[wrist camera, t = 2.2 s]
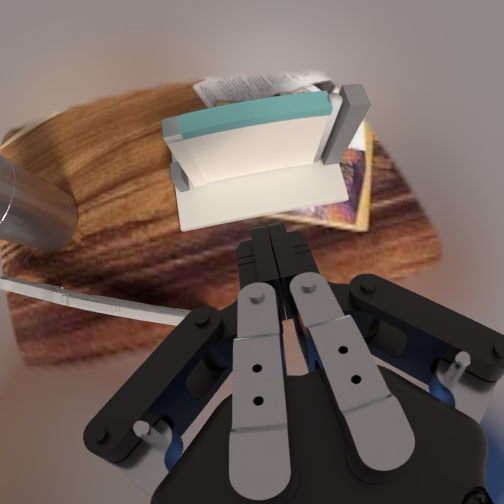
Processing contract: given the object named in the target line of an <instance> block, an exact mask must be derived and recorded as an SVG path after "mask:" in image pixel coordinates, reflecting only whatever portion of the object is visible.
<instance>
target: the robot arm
mask: <svg viewBox="0 0 504 504" xmlns="http://www.w3.org/2000/svg"><path fill="white" fill-rule="evenodd" d="M77 220H78V211H77V205H76V202H75V200H74V199H73V197H72V196H71V195H70V194H68V193H67V192H65V191H63V190H61V189H59V188H58V187H56V186H54V185H53V184H51V183H49V182H47V181H45V180H44V179H42V178H40V177H38V176H36V175H35V174H33V173H31V172H29V171H27V170H26V169H24V168H22V167H20V166H19V165H17V164H15V163H13V162H12V161H10V160H8V159H6V158H5V157H3V156H1V155H0V239H1V240H5V241H9V242H13V243H17V244H21V245H25V246H29V247H33V248H37V249H41V250H46V251H56V250H59V249H61V248H62V247H64V246H65V245H66V244H67V243H68V241H69V240H70V239H71V237H72V235H73V234H74V231H75V228H76V225H77ZM267 227H268V231H267ZM267 227H266V226H262V227H257V228H252V229H250V231H251V237H252V240H249V241H244V242H240V244H239V246H238V248H237V258H238V268H239V278H240V288H241V291H240V293H239V295H238V299H237V300H236V301H235V302H234V303H233V304H232V305H230V306H228V307H226V308H224V309H222V310H220V311H218V310H217V309H216V308H214V307H211V306H201V307H198V308H195V309H194V310H192V311H191V312H189V313H188V314H187V316H186V317H185V318H184V319H183V320H182V321H181V322H180V323H179V324H178V325H177V326H176V328H175V329H174V330H173V331H172V332H171V333H170V334H169V335H168V336H167V337H166V339H165V340H164V341H163V342H162V343H161V344H160V345H159V346H158V347H157V348H156V349H155V351H154V352H153V353H152V354H151V355H150V356H149V357H148V358H147V359H146V360H145V362H144V363H143V364H142V365H141V366H140V367H139V368H138V369H137V370H136V371H135V373H134V374H133V375H132V376H131V377H130V378H129V379H128V380H127V381H126V382H125V384H124V385H123V386H122V387H121V388H120V389H119V390H118V391H117V392H116V394H115V395H114V396H113V397H112V398H111V399H110V400H109V401H108V402H107V403H106V404H105V406H104V407H103V408H102V409H101V410H100V411H99V412H98V413H97V414H96V416H95V417H94V418H93V419H92V420H91V421H90V422H89V423H88V425H87V426H86V428H85V430H84V436H83V440H84V444H85V446H86V447H87V449H88V450H89V451H90V452H92V453H94V454H95V455H97V456H99V457H101V458H102V459H103V460H104V461H106V462H108V463H109V464H111V465H113V466H115V467H117V468H118V469H119V470H120V471H121V472H123V473H124V474H125V475H126V476H127V477H128V478H129V479H130V480H131V481H132V482H134V483H135V484H136V485H137V486H138V487H139V488H140V489H142V490H143V491H144V492H145V493H146V494H148V495H149V496H150V497H151V498H152V499H151V503H150V504H494V503H493V502H492V500H491V498H490V496H489V494H488V492H487V488H486V479H485V475H486V472H485V471H486V461H487V454H488V443H487V438H486V435H485V432H484V430H483V429H482V427H481V426H480V422H481V419H482V417H483V415H484V413H485V410H486V408H487V405H488V403H489V401H490V398H491V396H492V393H493V390H494V388H495V385H496V383H497V382H498V381H499V380H500V378H501V377H502V376H503V375H504V335H502V334H500V333H498V332H496V331H494V330H492V329H490V328H488V327H486V326H484V325H482V324H480V323H478V322H475V321H474V320H472V319H470V318H467V317H465V316H463V315H461V314H459V313H457V312H455V311H453V310H450V309H448V308H446V307H444V306H442V305H440V304H438V303H436V302H434V301H431V300H429V299H427V298H425V297H423V296H421V295H418V294H416V293H414V292H412V291H410V290H407V289H405V288H403V287H401V286H399V285H397V284H394V283H392V282H390V281H388V280H386V279H383V278H381V277H379V276H376V275H373V274H361V275H358V276H356V277H354V278H353V279H352V280H351V282H350V284H335V283H331V282H329V281H327V280H326V279H325V278H324V277H323V276H322V275H320V273H319V271H318V268H317V266H316V263H315V261H314V258H313V256H312V254H311V251H310V249H309V246H308V244H307V241H306V239H305V237H304V236H303V235H302V234H301V233H299V232H298V231H294V232H289V233H287V231H286V228H285V225H284V223H283V222H282V223H277V224H271V225H267ZM268 233H269V235H268ZM283 303H284V305H283ZM284 307H285V311H286V315H287V320H288V319H293V321H294V325H295V332H296V336H297V339H298V342H299V345H300V348H301V351H302V354H303V357H304V359H305V362H306V365H307V368H308V372H309V373H308V374H305V375H302V376H287V369H286V360H285V350H284V342H283V324H282V321H284V320H286V318H285V311H284ZM371 354H372V355H374V356H376V357H378V358H379V359H381V360H383V361H385V362H386V363H389V364H390V365H392V366H394V367H396V368H398V369H399V370H401V371H403V372H405V373H407V374H408V375H410V376H412V377H414V378H416V379H418V380H419V381H421V382H423V383H425V384H427V385H428V387H429V392H430V393H428V392H427V391H425V390H423V389H422V388H420V387H418V386H416V385H415V384H413V383H411V382H410V381H408V380H406V379H405V378H403V377H401V376H400V375H398V374H396V373H395V372H393V371H391V370H390V369H387V368H385V367H383V366H379V365H376V363H375V361H374V359H373V357H372V355H371ZM232 371H233V393H232V394H231V395H229V396H228V397H227V398H225V399H224V400H223V401H222V402H221V403H220V404H219V405H218V406H217V408H216V409H215V410H214V412H213V413H212V414H211V416H210V417H209V419H208V420H207V421H206V423H205V424H204V426H203V427H202V429H201V430H200V431H199V433H198V434H197V435H196V437H195V438H194V440H193V441H192V442H191V443H190V445H189V446H188V448H187V449H186V450H185V452H184V453H183V454H182V452H183V448H184V447H183V445H184V444H183V441H182V438H181V436H182V435H183V434H184V432H185V431H186V430H187V429H188V427H189V426H190V425H191V424H192V422H193V421H194V420H195V419H196V417H197V416H198V415H199V414H200V412H201V411H202V410H203V408H204V407H205V406H206V405H207V403H208V402H209V401H210V399H211V398H212V397H213V396H214V394H215V393H216V392H217V390H218V389H219V388H220V387H221V385H222V384H223V382H224V381H225V380H226V379H227V377H228V376H229V375H230V373H231V372H232ZM181 454H182V455H181ZM180 456H181V457H180Z"/></svg>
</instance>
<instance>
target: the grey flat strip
mask: <svg viewBox="0 0 504 504" xmlns="http://www.w3.org/2000/svg"><path fill="white" fill-rule="evenodd" d="M0 290H8V291H12V292H15V293H19V294H23V295H27V296H31V297H35V298H39V299H43V300H47V301H51V302H54V303H58V304H62V305H67V306H71V307H76V308H80V309H85V310H90V311H95V312H100V313H105V314H110V315H116V316H121V317H127V318H132V319H138V320H144V321H150V322H157V323H163V324H170V325H176V326H177V325H178V324H179V323H180V322H181V321H182V320H183V319H184V318H185V317H186V316H187V314H188V313H189V312H191V311H192V310H185V309H177V308H169V307H163V306H156V305H150V304H144V303H138V302H132V301H127V300H121V299H115V298H109V297H104V296H98V295H87V294H83V293H80V292H75V291H70V290H65V289H63V287H61V286H54V285H49V284H43V283H38V282H32V281H26V280H21V279H16V278H14V277H6V276H0Z"/></svg>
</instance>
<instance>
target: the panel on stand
mask: <svg viewBox="0 0 504 504" xmlns="http://www.w3.org/2000/svg"><path fill="white" fill-rule="evenodd" d="M339 95H340V96H341V97H342V99H343V101H342V104H341V106H340V109H339V112H338V114H337V117H336V120H335V122H334V125H333V127H332V130H331V132H330V135H329V138H328V140H327V143H326V145H325V148H324V150H323V153H322V155H321V158H320V160H319V161H318V162H313V164H307V165H300V166H294V167H288V168H282V169H276V170H270V171H264V172H259V173H253V174H248V175H243V176H238V177H233V178H228V179H223V180H218V181H213V182H208V183H207V184H206V185H201V186H197V187H194V186H193V184H192V182H191V181H190V179H189V178H188V176H187V175H186V173H185V172H184V170H183V169H182V167H181V166H180V164H179V162H178V161H177V159H176V158H175V156H174V155H173V153H172V162H173V163H170V169H171V178H172V183H173V184H174V185H175V188H176V196H177V204H178V212H179V219H180V227H181V230H182V231H183V232H184V231H188V230H193V229H198V228H203V227H208V226H213V225H218V224H223V223H228V222H233V221H238V220H243V219H248V218H254V217H259V216H264V215H269V214H275V213H280V212H286V211H291V210H297V209H302V208H308V207H314V206H319V205H325V204H331V203H337V202H343V201H347V200H348V199H349V198H348V194H347V191H346V187H345V183H344V180H343V176H342V173H341V169H340V166H339V162H340V161H341V159H342V157H343V155H344V153H345V151H346V150H347V148H348V146H349V144H350V142H351V140H352V139H353V137H354V135H355V133H356V131H357V129H358V127H359V126H360V124H361V122H362V120H363V118H364V116H365V114H366V112H367V111H368V109H369V107H370V105H371V104H370V102H369V99H368V97H367V95H366V92H365V90H364V88H363V85H362V84H352V85H342V87H341V90H340V93H339Z"/></svg>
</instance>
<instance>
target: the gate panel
mask: <svg viewBox="0 0 504 504" xmlns="http://www.w3.org/2000/svg"><path fill="white" fill-rule="evenodd" d="M342 101H343V99H342V97H341V96H340V95H339V94H337V93H330V94H329V95H328V93H327V91H318V92H308V93H299V94H290V95H282V96H275V97H268V98H262V99H255V100H249V101H243V102H238V103H232V104H227V105H222V106H217V107H212V108H208V109H203V110H199V111H194V112H190V113H186V114H182V115H178V116H174V117H170V118H166V119H162V134H163V139H164V141H165V142H166V144H167V145H168V147H169V149H170V150H171V152H172V153H173V155H174V156H175V158H176V159H177V161H178V162H179V164H180V166H181V167H182V169H183V170H184V172H185V173H186V175H187V176H188V178H189V179H190V181H191V182H192V184H193V186H194V187H197V186H201V185H206V184H207V183H208V182H213V181H218V180H223V179H228V178H233V177H238V176H243V175H248V174H253V173H259V172H264V171H270V170H276V169H282V168H288V167H294V166H300V165H307V164H313V162H318V161H319V160H320V158H321V155H322V153H323V150H324V148H325V145H326V143H327V140H328V138H329V135H330V132H331V130H332V127H333V125H334V122H335V120H336V117H337V114H338V112H339V109H340V106H341V104H342Z"/></svg>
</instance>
